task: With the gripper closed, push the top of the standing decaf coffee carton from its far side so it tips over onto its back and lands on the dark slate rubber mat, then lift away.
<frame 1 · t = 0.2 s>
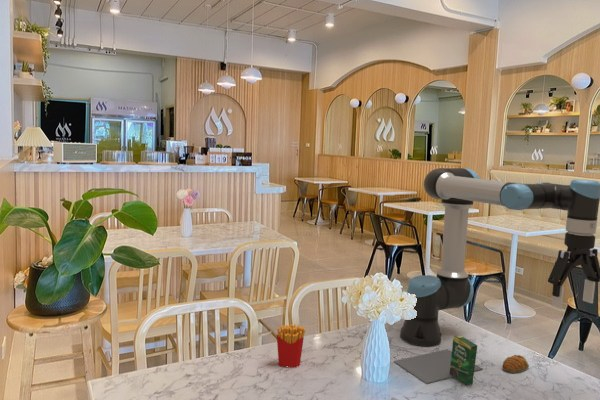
hand: (572, 304, 138), 28 cm above the table, tool pointing down, fingers open, 13 cm apart
slate mat: (437, 365, 157), on the table
coffee box: (460, 379, 148), on the table, touching slate mat
pastry: (514, 369, 157), on the table
french fries: (290, 364, 154), on the table
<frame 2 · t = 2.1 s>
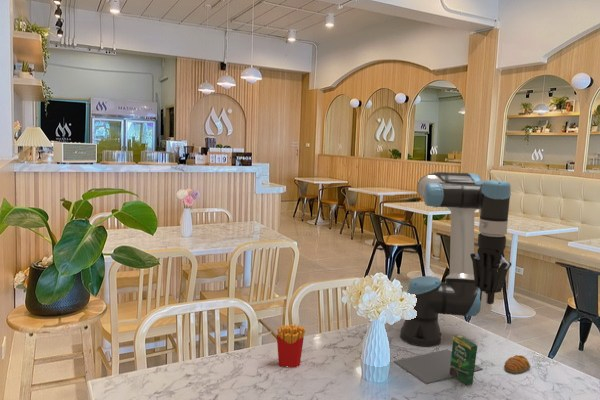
hand: (485, 313, 138), 24 cm above the table, tool pointing down, fingers closed
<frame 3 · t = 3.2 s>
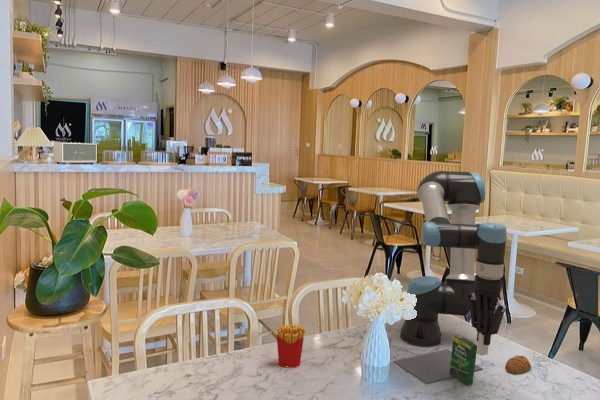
hand: (482, 353, 140), 12 cm above the table, tool pointing down, fingers closed
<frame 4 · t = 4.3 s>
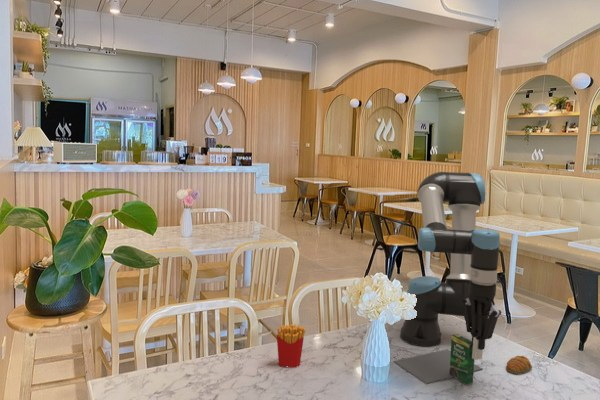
hand: (477, 358, 142), 10 cm above the table, tool pointing down, fingers closed
coffee box: (460, 379, 148), on the table, touching gripper, slate mat
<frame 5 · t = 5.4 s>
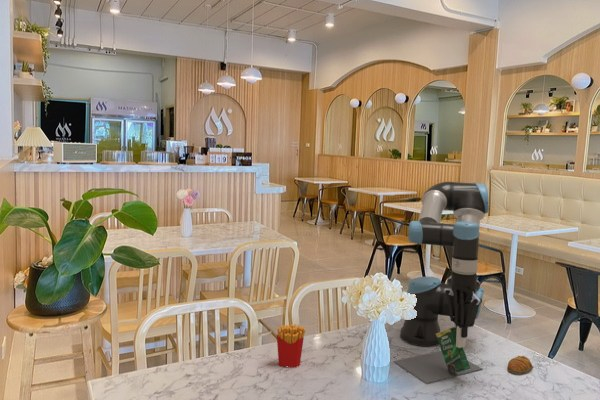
hand: (460, 346, 147), 11 cm above the table, tool pointing down, fingers closed
coffee box: (459, 372, 148), point 2 cm above the table, touching gripper, slate mat
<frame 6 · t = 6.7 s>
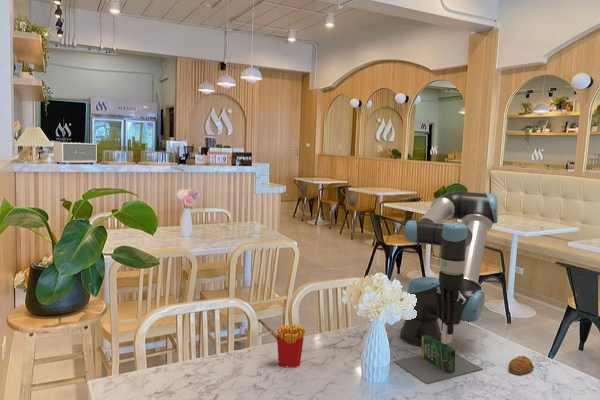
hand: (446, 342, 153), 9 cm above the table, tool pointing down, fingers closed
coffee box: (453, 362, 150), point 4 cm above the table, touching slate mat
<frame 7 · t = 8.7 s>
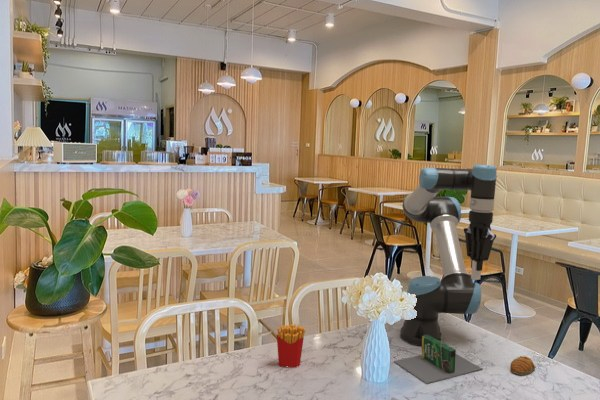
hand: (475, 279, 161), 28 cm above the table, tool pointing down, fingers closed
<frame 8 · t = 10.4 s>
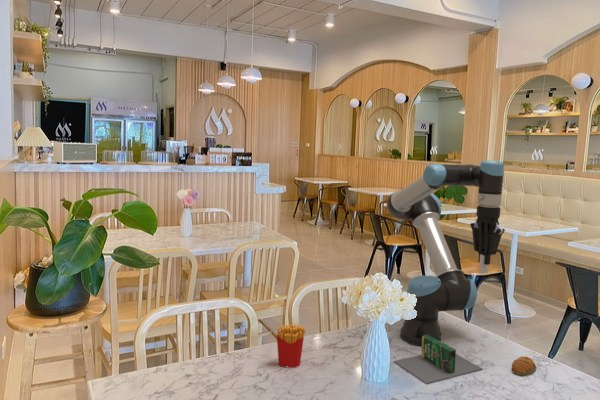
hand: (483, 272, 164), 29 cm above the table, tool pointing down, fingers closed
at the end: coffee box tilted 89°; coffee box touching slate mat; coffee box inside the target area (3.5 cm from its centre), point 4.1 cm above the table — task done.
